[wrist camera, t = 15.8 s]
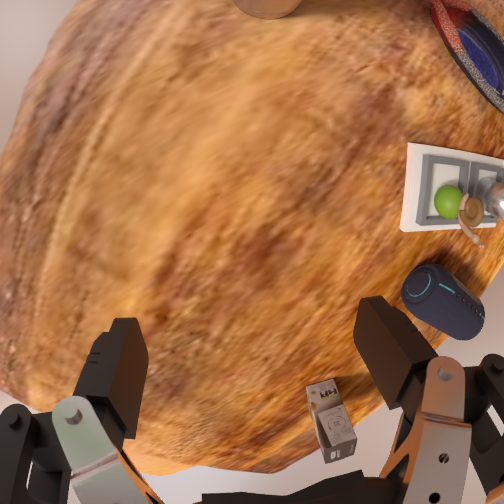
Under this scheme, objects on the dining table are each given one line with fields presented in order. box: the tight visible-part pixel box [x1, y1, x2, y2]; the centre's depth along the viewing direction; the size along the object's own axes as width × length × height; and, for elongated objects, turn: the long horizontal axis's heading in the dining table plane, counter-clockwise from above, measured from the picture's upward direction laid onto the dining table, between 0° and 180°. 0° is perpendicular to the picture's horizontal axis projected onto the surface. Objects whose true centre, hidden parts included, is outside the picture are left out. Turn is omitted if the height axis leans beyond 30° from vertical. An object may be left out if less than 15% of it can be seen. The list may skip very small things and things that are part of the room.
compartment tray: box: [400, 142, 504, 232], centre depth 40 cm, size 14×26×3 cm, turn 92°
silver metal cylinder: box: [476, 177, 504, 221], centre depth 36 cm, size 6×6×9 cm
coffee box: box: [306, 379, 357, 464], centre depth 51 cm, size 9×6×16 cm
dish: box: [429, 0, 504, 113], centre depth 29 cm, size 16×31×5 cm, turn 60°
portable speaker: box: [401, 263, 485, 340], centre depth 46 cm, size 25×10×10 cm, turn 60°
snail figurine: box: [434, 185, 485, 248], centre depth 35 cm, size 5×6×12 cm
